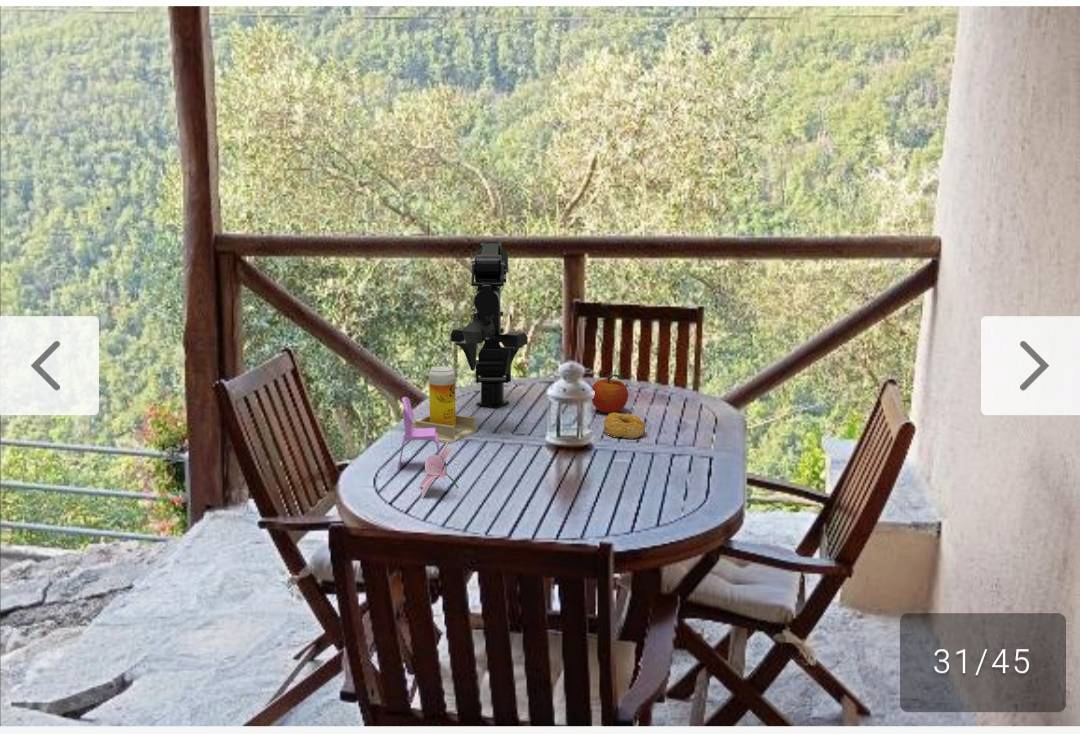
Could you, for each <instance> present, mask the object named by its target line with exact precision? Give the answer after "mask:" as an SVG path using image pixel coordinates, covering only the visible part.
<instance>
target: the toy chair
mask: <svg viewBox="0 0 1080 734" xmlns="http://www.w3.org/2000/svg"><path fill="white" fill-rule="evenodd" d="M401 400H402V404H403V409H402V417H403V425H404V431H405V432H404V434H403V438H402V443H401V450H400V456H399V461H398V465H397V470H398V471H399V470H400V468H401V463H402V462H401V461H402V457H403V452H404V445H405V443H407V442H409V441H410V442H411V441H432V442H434V443H435V445H436V450H437V454H436V455H438V456H439V454H440V442H439V438H438V434H437V433H436V428H423V429H416V428H411V425H412V424H413V421H414V417H415V415H414V411H413V408H412V404H411V400H410V398H409V397H407V396H404V397H402V398H401Z"/></svg>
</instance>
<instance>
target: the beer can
mask: <svg viewBox="0 0 1080 734" xmlns="http://www.w3.org/2000/svg"><path fill="white" fill-rule="evenodd" d="M428 384H429V385H428V387H429V388H428V390H429V415H430V423H436V424H443V425H449V426H455V427H456V415H457V414H456V413H457V412H456V409H457V407H456V373H455V371H454V367H451V366H447V365H439V366H433V367H431V368H430V371H429V372H428Z"/></svg>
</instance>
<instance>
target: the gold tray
mask: <svg viewBox="0 0 1080 734" xmlns="http://www.w3.org/2000/svg"><path fill="white" fill-rule="evenodd" d="M411 428H416V429H423V428H436V433H437V434H438V438H439V443H445V444H446V443H447V442H448V444H452V443H454V442H457V441H458V440H461V439H464V438H465V437H467V436H469V435H472V434H474V433H476V432H478V428H476V416H475V417H473V416H467V415H461V414H456V427H455V426H449V425H443V424H436V423H430V414H428V415H425V416H423V417H419V418H417V419H414V420H413V424H412V425H411ZM456 440H457V441H456Z"/></svg>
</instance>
